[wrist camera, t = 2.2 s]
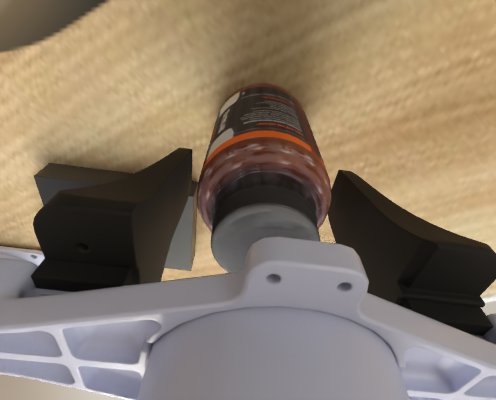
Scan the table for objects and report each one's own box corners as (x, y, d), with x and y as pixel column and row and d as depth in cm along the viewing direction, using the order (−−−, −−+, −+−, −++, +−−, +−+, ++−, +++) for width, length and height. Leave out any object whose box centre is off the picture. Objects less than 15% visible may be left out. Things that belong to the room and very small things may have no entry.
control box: (72, 240, 26) (49, 271, 23) (49, 162, 22) (18, 188, 19) (194, 254, 27) (187, 286, 24) (198, 182, 22) (189, 210, 19)
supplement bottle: (202, 97, 19) (150, 202, 9) (295, 67, 17) (338, 154, 8) (233, 175, 22) (216, 309, 13) (312, 154, 21) (358, 285, 12)
